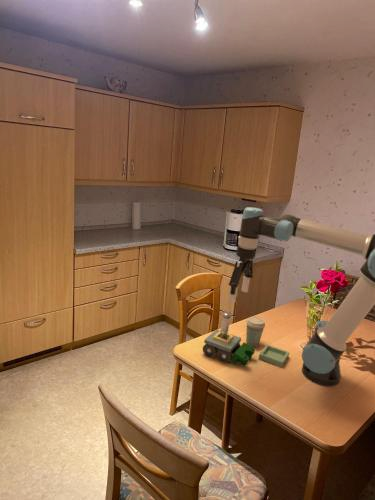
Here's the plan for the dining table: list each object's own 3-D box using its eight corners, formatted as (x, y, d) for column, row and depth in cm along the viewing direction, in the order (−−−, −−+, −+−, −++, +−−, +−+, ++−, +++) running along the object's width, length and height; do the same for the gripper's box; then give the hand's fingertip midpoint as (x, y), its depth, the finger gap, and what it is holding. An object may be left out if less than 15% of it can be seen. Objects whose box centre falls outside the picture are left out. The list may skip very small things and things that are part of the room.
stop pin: (229, 338, 161) (233, 313, 158) (225, 342, 157) (229, 316, 154) (220, 335, 163) (224, 310, 160) (216, 339, 159) (220, 313, 156)
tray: (288, 357, 165) (289, 352, 165) (282, 367, 157) (283, 362, 156) (265, 349, 170) (266, 344, 169) (258, 359, 161) (259, 354, 161)
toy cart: (239, 353, 164) (242, 335, 162) (229, 365, 154) (232, 347, 152) (213, 343, 170) (215, 326, 168) (201, 354, 160) (203, 336, 158)
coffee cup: (253, 350, 168) (257, 326, 165) (239, 342, 174) (243, 318, 171) (265, 345, 174) (269, 322, 170) (251, 337, 180) (254, 314, 176)
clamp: (240, 375, 156) (245, 364, 150) (228, 367, 158) (232, 355, 152) (253, 355, 164) (258, 343, 157) (242, 348, 166) (246, 336, 160)
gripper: (249, 239, 159) (241, 285, 165) (225, 250, 138) (217, 302, 144) (265, 243, 156) (257, 290, 162) (244, 255, 135) (235, 308, 140)
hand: (238, 296), depth 153 cm, fingers open, 13 cm apart
